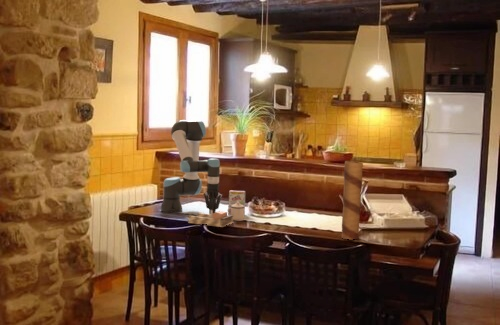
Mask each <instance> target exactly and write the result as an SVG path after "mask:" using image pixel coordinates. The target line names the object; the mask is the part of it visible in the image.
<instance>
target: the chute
mask: <svg viewBox="0 0 500 325" xmlns="http://www.w3.org/2000/svg"><path fill="white" fill-rule="evenodd" d="M187 223H188V224H195V225H202V224H207V225H206V226H211V227H217V228H219V227H220V228H224V227H227V226H229V224H230V225H232V223H233V224H234V220H233V215H227V216H226V217H223V218H220V219H214V218H210V214H209V213H204V212H203V213H202V212H198V213H197V215H188V221H187ZM226 225H227V226H226Z"/></svg>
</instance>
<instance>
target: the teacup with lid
mask: <svg viewBox="0 0 500 325" xmlns="http://www.w3.org/2000/svg"><path fill="white" fill-rule="evenodd" d="M229 209H231V214H230V212H229ZM228 213H229V215H233V221H236V222H237V221H244V220H245V214H244V205H241V204H239V202H236V204H234V205H231V208H227V214H228ZM229 215H228V216H229Z"/></svg>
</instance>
